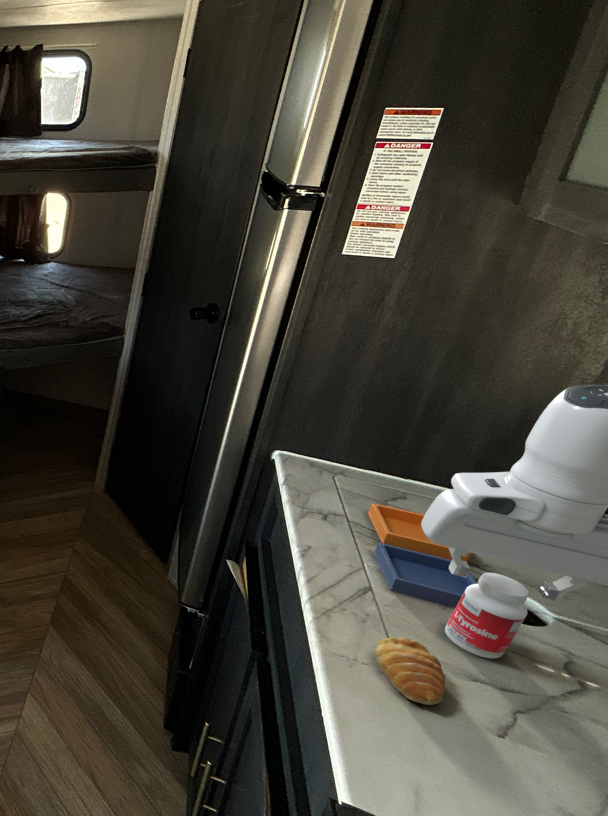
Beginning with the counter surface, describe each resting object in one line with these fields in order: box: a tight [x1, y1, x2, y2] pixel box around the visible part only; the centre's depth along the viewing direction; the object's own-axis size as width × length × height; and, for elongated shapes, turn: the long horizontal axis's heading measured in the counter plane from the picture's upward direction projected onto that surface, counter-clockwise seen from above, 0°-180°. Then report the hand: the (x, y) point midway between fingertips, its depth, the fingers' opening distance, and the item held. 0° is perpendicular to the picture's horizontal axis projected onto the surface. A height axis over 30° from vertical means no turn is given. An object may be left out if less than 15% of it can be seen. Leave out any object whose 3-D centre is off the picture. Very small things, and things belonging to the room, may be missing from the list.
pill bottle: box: [444, 572, 530, 659], centre depth 90 cm, size 6×6×11 cm
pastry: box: [374, 636, 446, 706], centre depth 85 cm, size 9×7×4 cm
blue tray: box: [373, 542, 478, 609], centre depth 103 cm, size 11×10×2 cm
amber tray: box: [367, 502, 472, 563], centre depth 113 cm, size 11×10×2 cm
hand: (501, 584), depth 88 cm, fingers open, 8 cm apart
